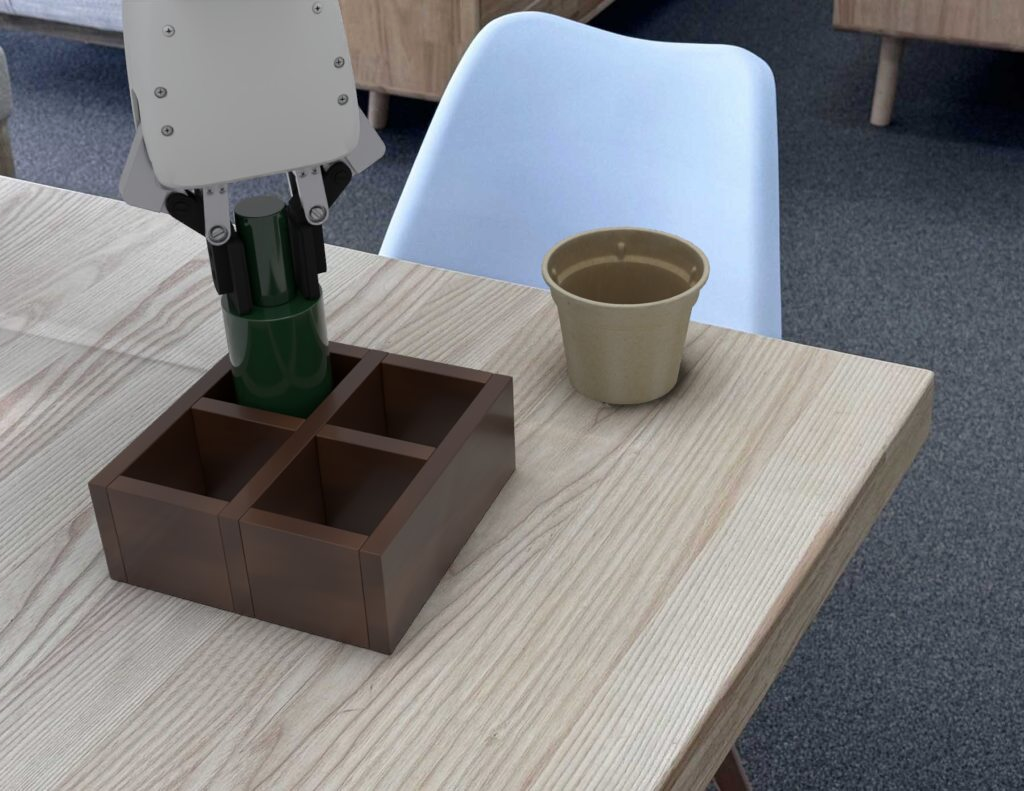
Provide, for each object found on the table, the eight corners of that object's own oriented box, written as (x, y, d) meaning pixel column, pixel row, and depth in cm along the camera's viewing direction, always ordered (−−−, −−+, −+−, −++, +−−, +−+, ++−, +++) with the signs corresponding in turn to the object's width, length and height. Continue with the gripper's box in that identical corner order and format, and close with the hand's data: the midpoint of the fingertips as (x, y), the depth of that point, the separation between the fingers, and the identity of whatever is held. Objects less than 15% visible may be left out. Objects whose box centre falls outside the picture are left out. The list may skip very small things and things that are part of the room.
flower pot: (697, 444, 79) (705, 310, 74) (532, 431, 80) (529, 299, 75) (706, 356, 86) (714, 230, 82) (555, 346, 88) (554, 222, 83)
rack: (109, 578, 70) (86, 482, 67) (268, 414, 82) (255, 325, 79) (390, 655, 65) (380, 555, 62) (516, 467, 77) (513, 376, 74)
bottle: (230, 484, 77) (185, 220, 68) (278, 433, 81) (241, 177, 72) (314, 504, 75) (278, 236, 66) (358, 451, 79) (331, 191, 70)
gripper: (371, -112, 67) (399, 233, 77) (21, -67, 62) (100, 296, 72) (424, -76, 61) (447, 293, 71) (43, -23, 56) (125, 366, 66)
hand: (272, 291), depth 72 cm, fingers closed
